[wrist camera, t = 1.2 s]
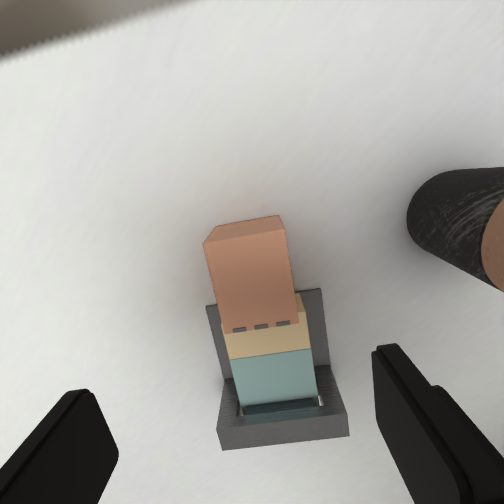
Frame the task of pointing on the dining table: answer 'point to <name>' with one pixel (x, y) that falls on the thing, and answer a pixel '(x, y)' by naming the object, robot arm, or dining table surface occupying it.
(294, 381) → the tan and teal block
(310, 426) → the grey rectangular collar
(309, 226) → the dining table surface
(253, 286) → the stub
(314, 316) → the mat
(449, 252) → the travel mug
